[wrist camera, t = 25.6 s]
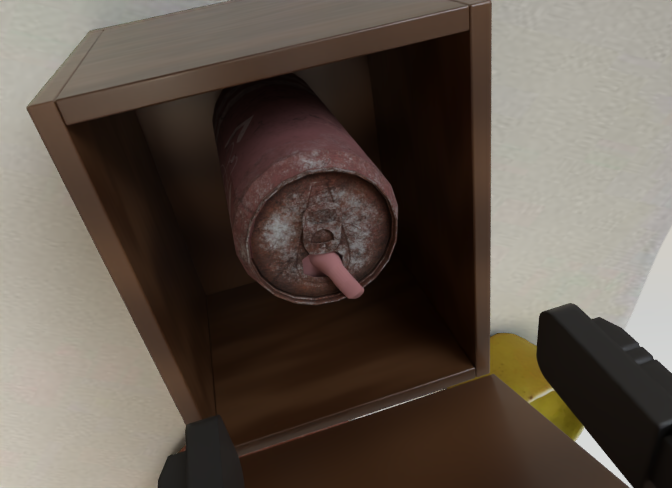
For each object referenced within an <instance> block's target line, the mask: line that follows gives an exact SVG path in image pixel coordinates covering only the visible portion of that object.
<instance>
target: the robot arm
mask: <svg viewBox="0 0 672 488" xmlns="http://www.w3.org/2000/svg"><path fill="white" fill-rule="evenodd" d="M536 357H537V362H538V366H539V368H540V371H541V373H542V374H543V376H544V378H545V379H546V380H547V382H548V383H549V384H550V385H551V387H552V388H553V389H554V390H555V392H556V393H557V394H558V395H559V396H560V398H561V399H562V400H563V401H564V403H565V404H566V405H567V406H568V408H569V409H570V410H571V411H572V412H573V414H574V415H575V416H576V417H577V419H578V420H579V421H580V422H581V424H582V425H583V426H584V427H585V428H586V430H587V431H588V432H589V433H590V435H591V436H592V437H593V438H594V439H595V441H596V442H597V443H598V445H599V446H600V447H601V448H602V449H603V451H604V452H605V453H606V454H607V456H608V457H609V458H610V459H611V460H612V462H613V463H614V464H615V465H616V467H617V468H618V469H619V470H620V472H621V473H622V474H623V475H624V477H625V478H626V479H627V480H628V482H629V483H630V484H631V485H632V486H633V487H634V488H672V373H671V372H669V371H668V370H667V369H666V368H665V367H664V366H663V365H662V364H661V363H660V362H658V361H657V360H654V359H653V356H652V355H651V354H650V353H649V352H647V351H646V350H645V349H644V348H643V347H640V346H639V343H638V342H636V341H635V340H634V339H633V338H632V337H631V336H630V335H629V334H628V333H627V332H625V331H624V330H623V329H622V328H620V327H618V326H616V325H614V324H612V323H610V322H608V321H606V320H604V319H602V318H600V317H598V318H595V319H590V318H589V317H588V316H587V315H586V314H585V313H584V312H583V311H582V310H581V309H580V308H579V307H578V306H576V305H575V304H572V303H569V304H566V305H562V306H559V307H556V308H553V309H550V310H547V311H544V312H542V313H541V314H540V316H539V326H538V339H537V352H536ZM185 435H186V451H183V452H180V453H177V454H174V455H170V456H168V458H167V460H166V463H165V465H164V467H163V470H162V472H161V474H160V477H159V479H158V488H245V485H244V477H243V472H242V467H241V463H240V460H239V457H238V454H237V451H236V449H235V447H234V445H233V442H232V440H231V438H230V436H229V433H228V431H227V429H226V427H225V424H224V422H223V420H222V418H221V416H220V415H219V414H218V415H215V416H211V417H208V418H205V419H202V420H199V421H196V422H193V423H190V424H187V425H186V430H185Z"/></svg>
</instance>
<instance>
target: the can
mask: <svg viewBox="0 0 672 488" xmlns="http://www.w3.org/2000/svg"><path fill="white" fill-rule="evenodd" d="M212 123H213V129H214V135H215V141H216V146H217V152H218V157H219V163H220V168H221V174H222V179H223V184H224V190H225V195H226V201H227V206H228V212H229V217H230V222H231V228H232V233H233V239H234V244H235V250H236V255H237V256H238V258H239V260H240V261H241V263H242V265H243V267H244V268H245V270H246V272H247V274H248V275H250V276H251V277H252V278H253V279H254V280H256V281H257V282H258V283H259V284H260V285H262V286H263V287H264V288H265V289H267V290H268V291H270V292H271V293H272V294H273V295H274V296H277V297H279V298H282V299H285V300H287V301H290V302H292V303H297V304H310V305H319V304H324V303H330V302H335V301H339V300H341V299H344V298H346V297H347V298H348V299H356V298H358V297H360V296H361V295H362V294H363V292H364V287H365V286H366V285H368V284H369V283H370V282H371V281H373V280H374V279H375V278H376V277H377V276H378V275H379V273H380V272H381V271H382V269H383V268H384V267H385V265H386V264H387V263H388V261H389V260H390V257H391V254H392V252H393V249H394V246H395V244H396V241H397V221H398V220H397V219H398V205H397V202H396V198H395V195H394V192H393V189H392V186H391V184H390V183H389V182H388V180H387V179H386V178H385V177H384V175H383V174H382V173H381V172H380V170H379V169H378V168H377V167H376V166H375V164H374V163H373V162H372V161H371V160H370V158H369V157H368V156H367V155H366V154H365V152H364V151H363V150H362V149H361V148H360V146H359V145H358V144H357V143H356V142H355V140H354V139H353V138H352V137H351V136H350V135H349V133H348V132H347V131H346V130H345V129H344V127H343V126H342V125H341V124H340V123H339V121H338V120H337V119H336V118H335V117H334V115H333V114H332V113H331V112H330V111H329V109H328V108H327V107H326V106H325V105H324V103H323V102H322V101H321V100H320V99H319V97H318V96H317V95H316V94H315V93H314V91H313V90H312V89H311V88H310V87H309V85H308V84H307V83H306V82H305V81H304V80H303V79H301V78H300V77H298V76H297V75H295V74H293V73H288V74H284V75H280V76H276V77H271V78H267V79H263V80H259V81H255V82H250V83H246V84H242V85H238V86H233V87H229V88H225V89H223V90H222V92H221V94H220V96H219V98H218V99H217V101H216V103H215V108H214V113H213V119H212Z"/></svg>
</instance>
